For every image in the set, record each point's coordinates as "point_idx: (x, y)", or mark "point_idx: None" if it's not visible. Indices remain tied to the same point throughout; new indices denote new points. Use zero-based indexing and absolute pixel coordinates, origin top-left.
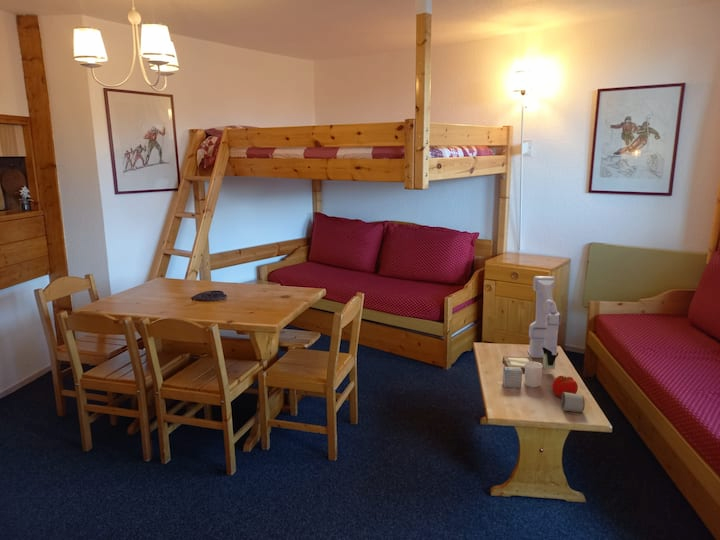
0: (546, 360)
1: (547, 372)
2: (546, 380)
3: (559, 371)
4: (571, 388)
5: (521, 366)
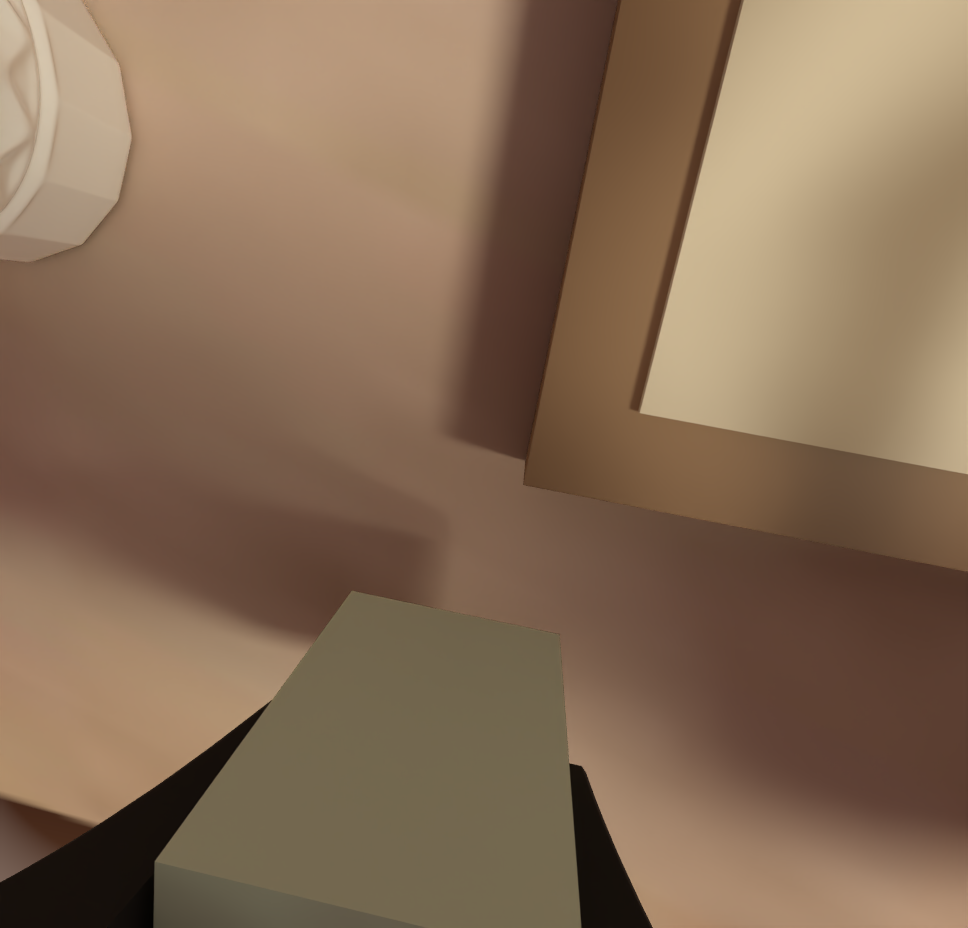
0: (240, 761)
1: None
2: (177, 460)
3: None
4: None
5: (680, 107)
